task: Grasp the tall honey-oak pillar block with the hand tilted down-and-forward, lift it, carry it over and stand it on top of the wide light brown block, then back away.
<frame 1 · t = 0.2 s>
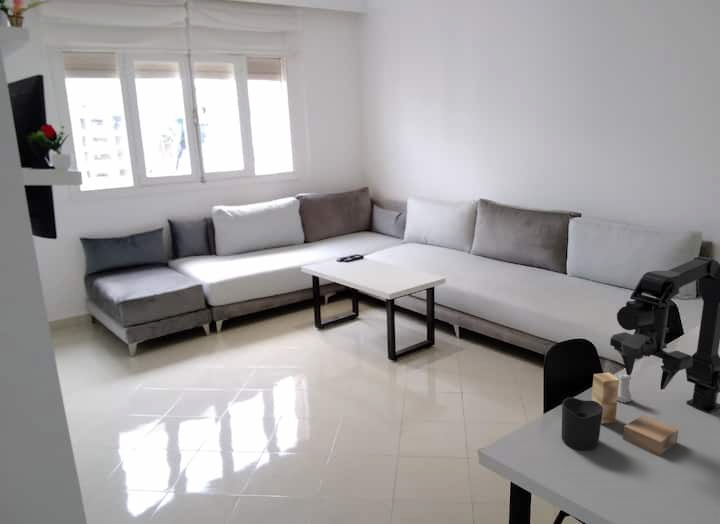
hand: (645, 381, 138), 14 cm above the table, tool pointing down, fingers open, 9 cm apart
pen holder: (579, 442, 138), on the table
rook chess piece: (622, 400, 158), on the table
light brown block: (649, 441, 138), on the table
oak pillar: (602, 419, 148), on the table
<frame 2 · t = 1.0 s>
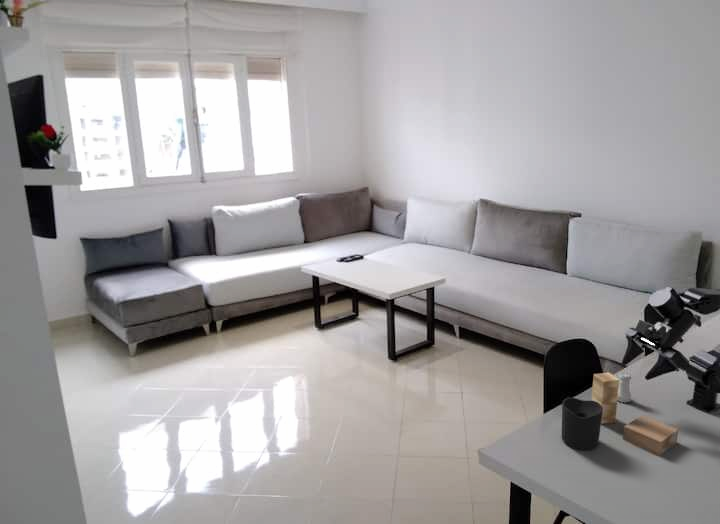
hand: (634, 371, 146), 13 cm above the table, tool tilted 45°, fingers open, 9 cm apart
nothing on the table moved.
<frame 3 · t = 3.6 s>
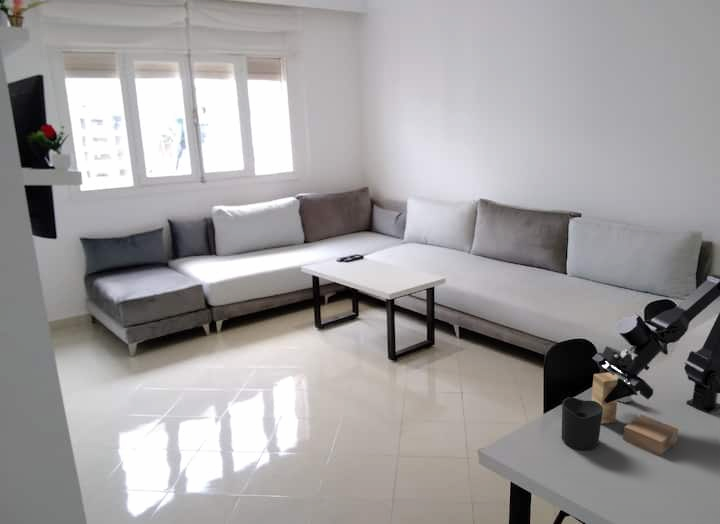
hand: (599, 397, 146), 7 cm above the table, tool tilted 45°, fingers closed on oak pillar, 4 cm apart
oak pillar: (602, 418, 148), on the table, touching gripper
everything else where it was.
when the fingers open (12 cm above the table, at t = 6.4 s): oak pillar drops 2 cm, point 4 cm above the table.
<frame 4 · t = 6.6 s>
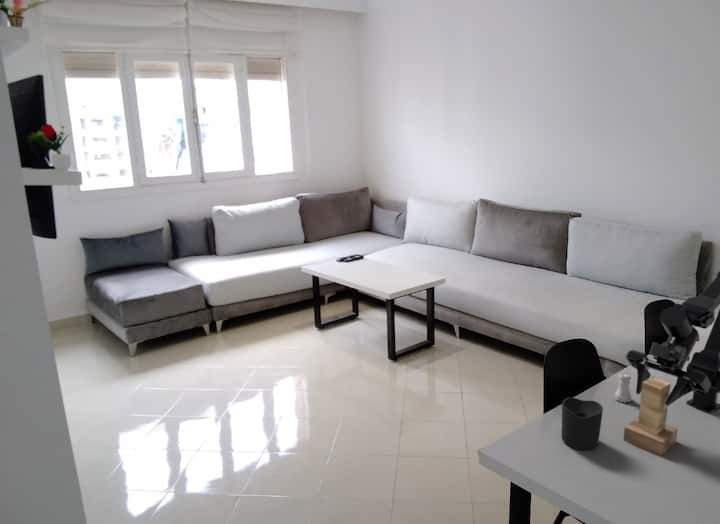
hand: (651, 399, 134), 12 cm above the table, tool tilted 45°, fingers open, 7 cm apart
oak pillar: (651, 427, 137), point 4 cm above the table
everything else where it was.
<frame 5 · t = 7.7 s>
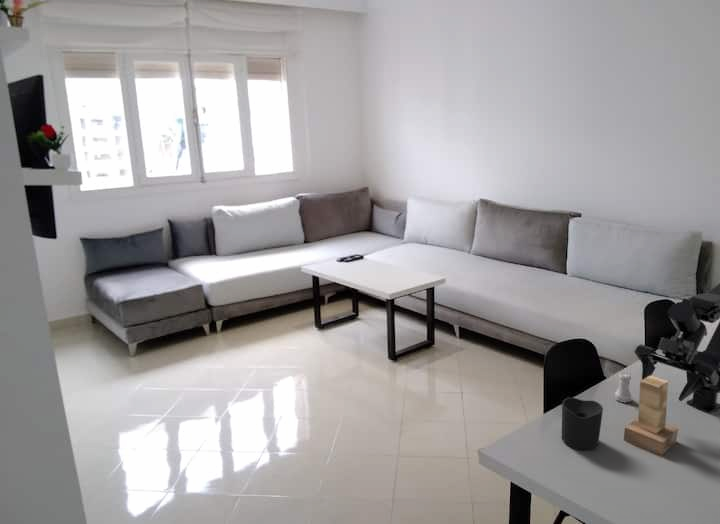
hand: (660, 393, 136), 12 cm above the table, tool tilted 45°, fingers open, 9 cm apart
nothing on the table moved.
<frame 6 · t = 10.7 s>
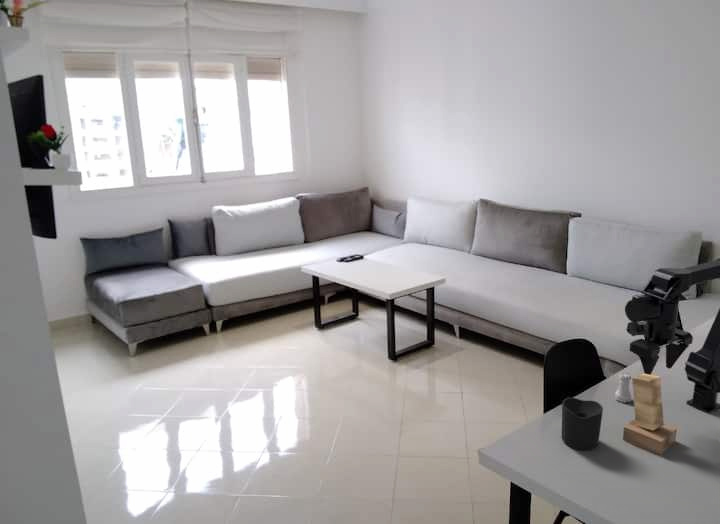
hand: (658, 372, 146), 13 cm above the table, tool pointing down, fingers open, 9 cm apart
oak pillar: (649, 425, 137), point 4 cm above the table, tilted 11°
everything else where it was.
at the end: oak pillar inside the target area on the light brown block (0.2 cm from its centre), point 4.3 cm above the light brown block's base; oak pillar tilted 8°; the gripper is holding nothing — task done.
